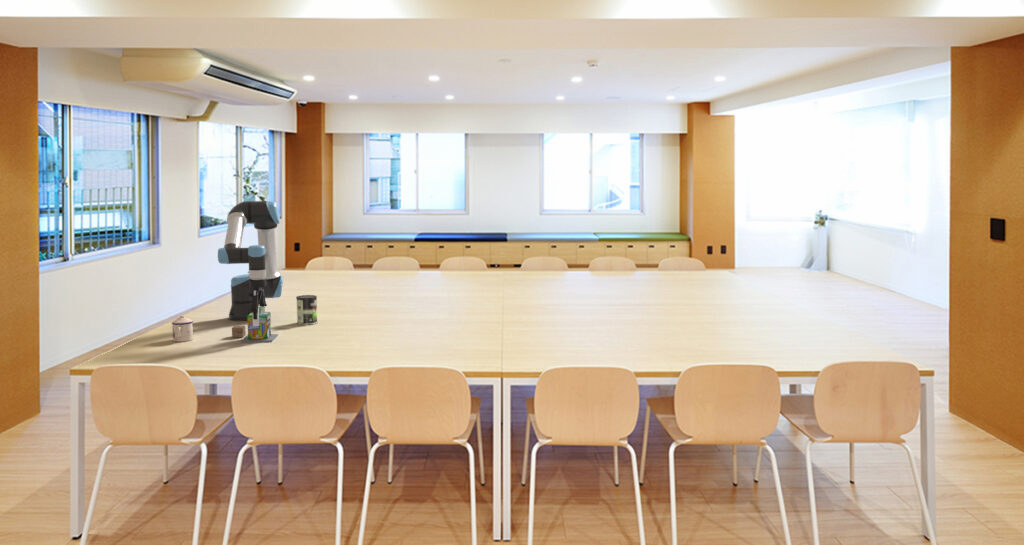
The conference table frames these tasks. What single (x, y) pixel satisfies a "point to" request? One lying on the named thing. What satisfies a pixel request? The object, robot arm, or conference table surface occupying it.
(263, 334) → the chalk box
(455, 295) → the conference table surface
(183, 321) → the teacup with lid
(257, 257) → the robot arm
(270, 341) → the slate mat
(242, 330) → the walnut block
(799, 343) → the conference table surface
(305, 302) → the coffee can
